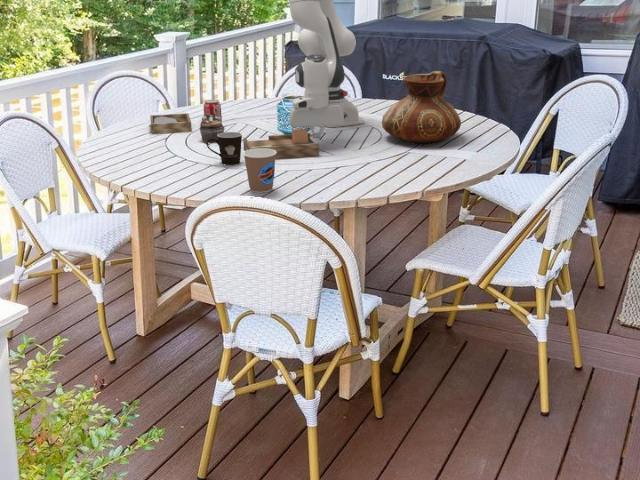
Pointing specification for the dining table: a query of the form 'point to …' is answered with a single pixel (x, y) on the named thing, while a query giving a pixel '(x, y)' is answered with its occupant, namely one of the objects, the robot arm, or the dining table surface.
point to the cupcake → (211, 127)
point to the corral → (172, 124)
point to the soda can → (212, 108)
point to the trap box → (285, 146)
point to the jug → (422, 112)
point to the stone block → (164, 120)
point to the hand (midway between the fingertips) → (317, 137)
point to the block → (299, 135)
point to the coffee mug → (228, 147)
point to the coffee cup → (260, 169)
